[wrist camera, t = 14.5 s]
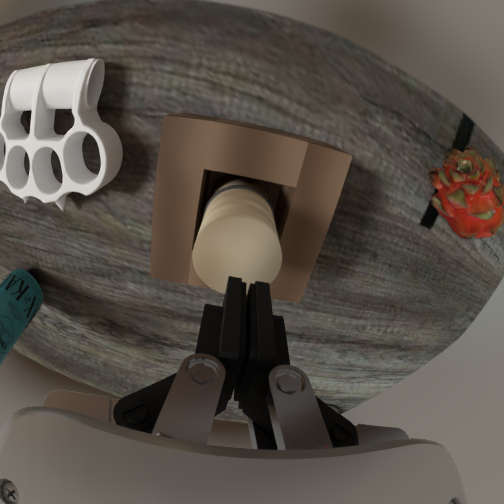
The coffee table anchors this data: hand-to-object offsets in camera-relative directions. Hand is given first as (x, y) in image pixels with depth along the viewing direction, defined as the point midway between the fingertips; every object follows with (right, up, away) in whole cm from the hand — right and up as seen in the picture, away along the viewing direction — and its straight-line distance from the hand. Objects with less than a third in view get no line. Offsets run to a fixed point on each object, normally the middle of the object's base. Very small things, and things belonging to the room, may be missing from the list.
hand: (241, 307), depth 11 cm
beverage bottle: (-29, -1, +16) cm, 34 cm away
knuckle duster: (-19, +14, +8) cm, 25 cm away
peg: (0, +7, +11) cm, 13 cm away
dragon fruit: (+22, +10, +11) cm, 26 cm away
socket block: (0, +7, +12) cm, 14 cm away
